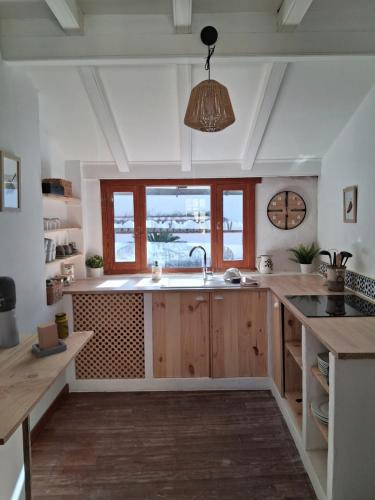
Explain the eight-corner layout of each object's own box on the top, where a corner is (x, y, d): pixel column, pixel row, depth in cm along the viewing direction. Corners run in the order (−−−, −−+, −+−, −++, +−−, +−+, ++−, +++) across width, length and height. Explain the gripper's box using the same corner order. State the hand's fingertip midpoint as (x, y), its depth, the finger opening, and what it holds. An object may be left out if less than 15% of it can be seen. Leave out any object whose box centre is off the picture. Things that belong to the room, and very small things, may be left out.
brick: (39, 349, 167) (36, 326, 166) (53, 344, 172) (51, 322, 171) (44, 352, 164) (42, 328, 163) (59, 346, 170) (56, 323, 168)
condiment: (72, 336, 184) (70, 313, 182) (56, 341, 178) (53, 317, 176) (65, 333, 189) (63, 310, 187) (49, 338, 183) (47, 315, 182)
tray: (32, 349, 170) (32, 344, 170) (58, 342, 177) (58, 337, 177) (39, 357, 160) (38, 352, 160) (66, 349, 167) (66, 345, 167)
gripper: (-29, 301, 135) (15, 291, 147) (-44, 296, 144) (-1, 287, 156) (-26, 321, 136) (17, 309, 148) (-41, 315, 145) (1, 304, 157)
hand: (7, 298), depth 152 cm, fingers open, 8 cm apart
